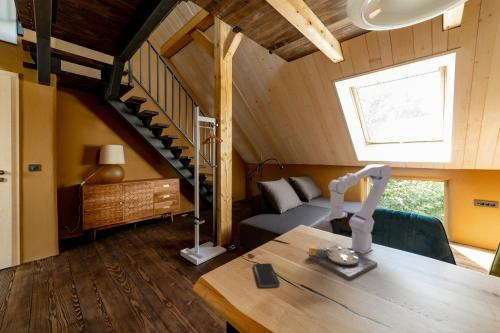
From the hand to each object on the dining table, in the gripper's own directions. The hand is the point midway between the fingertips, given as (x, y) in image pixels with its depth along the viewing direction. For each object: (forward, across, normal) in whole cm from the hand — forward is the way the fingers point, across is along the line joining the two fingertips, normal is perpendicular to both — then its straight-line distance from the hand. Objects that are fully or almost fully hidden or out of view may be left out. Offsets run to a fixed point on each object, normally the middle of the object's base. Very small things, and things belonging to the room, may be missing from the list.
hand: (335, 233), depth 102 cm
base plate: (+9, +5, +7) cm, 13 cm away
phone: (+10, +40, -2) cm, 41 cm away
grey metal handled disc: (+8, +8, +4) cm, 12 cm away
